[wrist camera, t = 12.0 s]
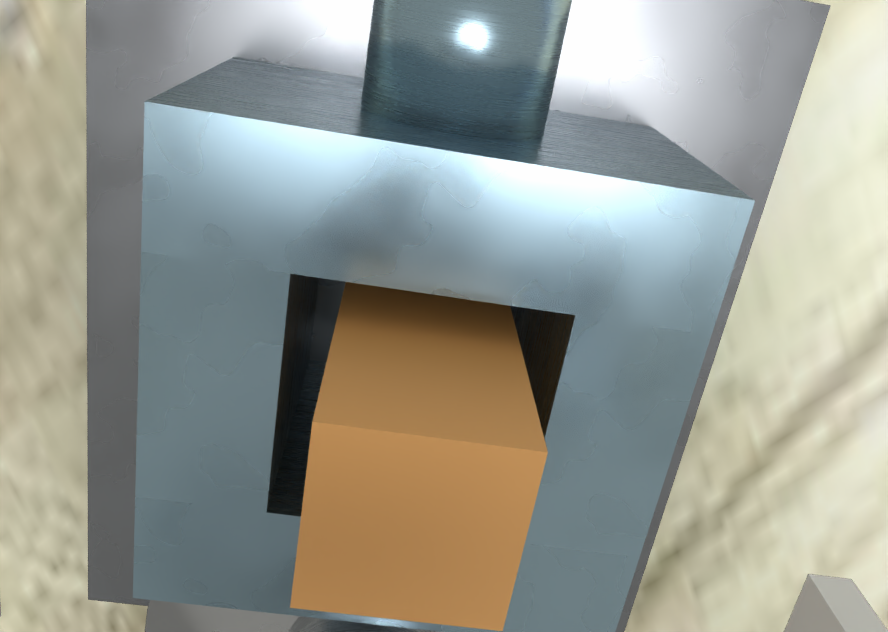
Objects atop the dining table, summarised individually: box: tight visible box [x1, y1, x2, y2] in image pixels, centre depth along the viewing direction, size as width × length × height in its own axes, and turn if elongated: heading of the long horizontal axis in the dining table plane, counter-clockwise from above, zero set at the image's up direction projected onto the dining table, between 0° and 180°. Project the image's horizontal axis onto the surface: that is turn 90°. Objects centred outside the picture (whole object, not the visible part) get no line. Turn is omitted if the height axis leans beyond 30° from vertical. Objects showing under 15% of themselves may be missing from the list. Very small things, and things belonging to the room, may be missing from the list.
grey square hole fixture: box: [86, 0, 830, 632], centre depth 21 cm, size 26×20×16 cm
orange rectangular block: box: [290, 282, 548, 631], centre depth 20 cm, size 4×4×12 cm
